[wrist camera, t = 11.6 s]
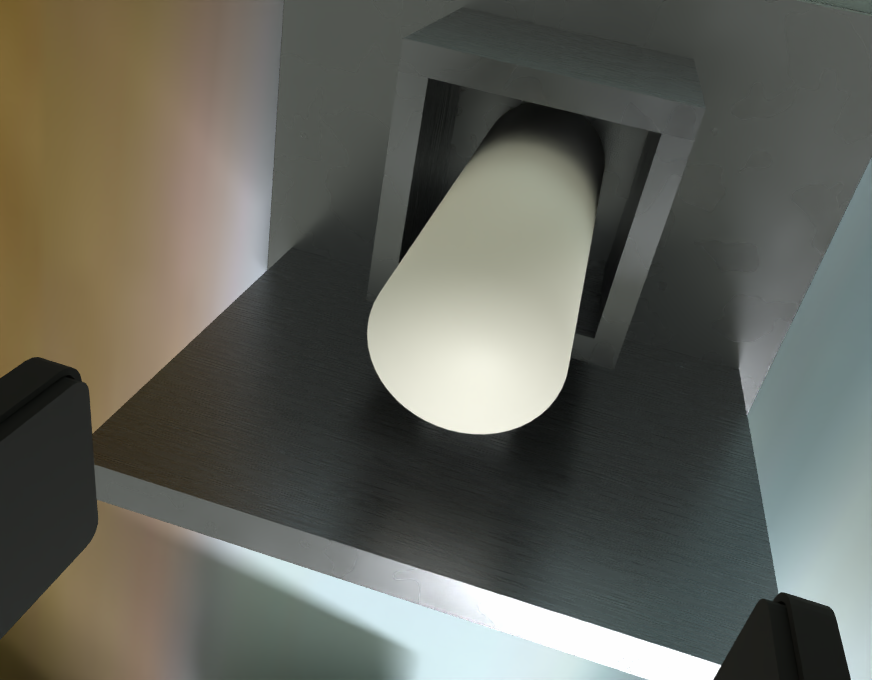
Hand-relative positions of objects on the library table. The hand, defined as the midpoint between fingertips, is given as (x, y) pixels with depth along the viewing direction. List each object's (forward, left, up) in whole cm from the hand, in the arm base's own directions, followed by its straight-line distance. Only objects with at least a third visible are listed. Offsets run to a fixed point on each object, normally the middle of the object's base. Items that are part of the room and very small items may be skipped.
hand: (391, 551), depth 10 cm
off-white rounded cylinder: (0, 0, -17) cm, 17 cm away
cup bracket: (0, +1, -20) cm, 20 cm away
